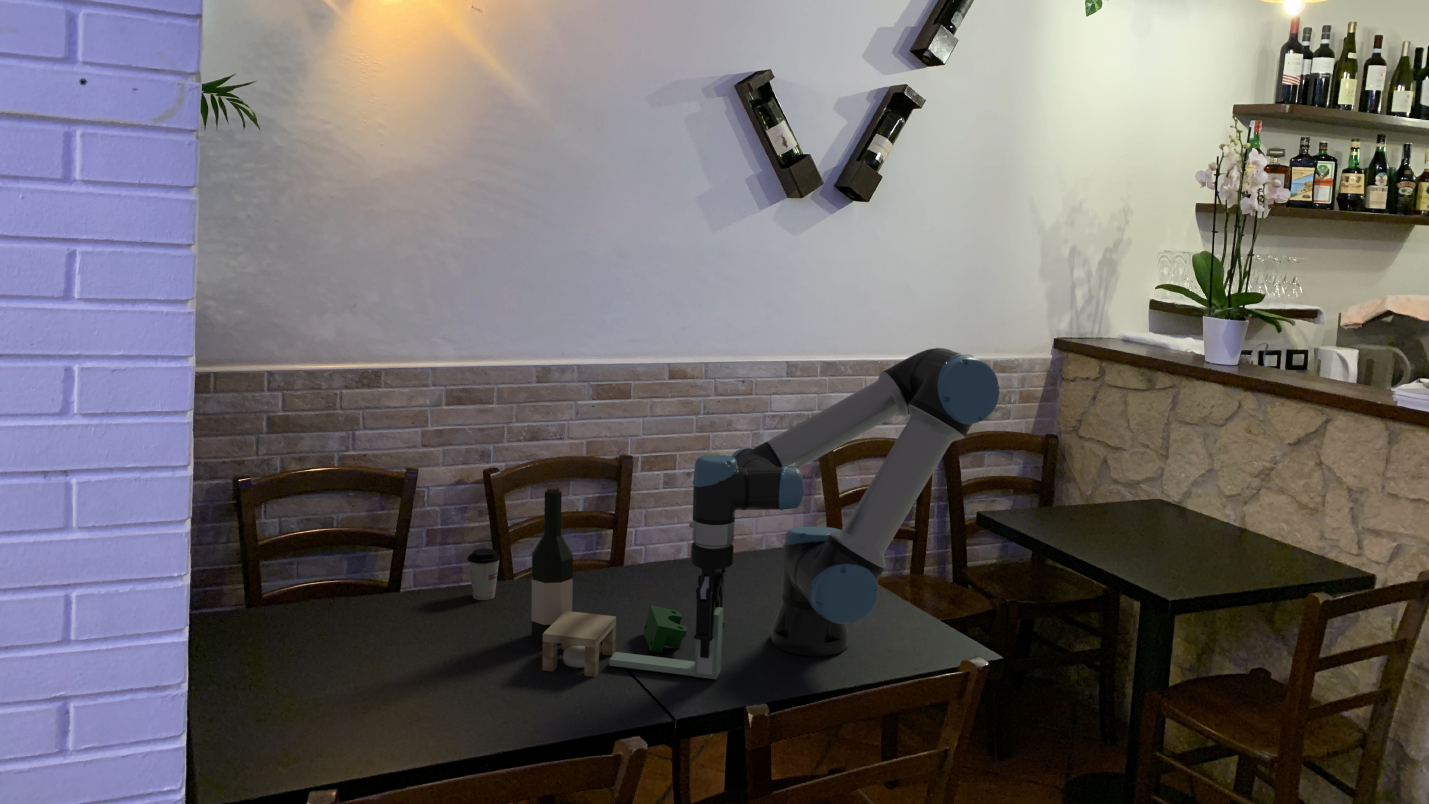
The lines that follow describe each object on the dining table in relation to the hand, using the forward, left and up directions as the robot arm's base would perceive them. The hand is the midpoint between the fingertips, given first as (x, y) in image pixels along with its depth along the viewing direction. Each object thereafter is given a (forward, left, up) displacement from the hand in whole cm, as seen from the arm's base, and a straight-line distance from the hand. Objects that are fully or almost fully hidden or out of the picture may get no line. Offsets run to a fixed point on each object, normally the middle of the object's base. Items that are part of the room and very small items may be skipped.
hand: (707, 667), depth 193 cm
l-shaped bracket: (+8, 0, -1) cm, 8 cm away
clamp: (+11, -13, -2) cm, 17 cm away
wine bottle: (+33, -9, -2) cm, 35 cm away
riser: (+24, 0, -2) cm, 24 cm away
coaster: (+24, 0, -2) cm, 24 cm away
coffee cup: (+55, -27, -2) cm, 62 cm away
